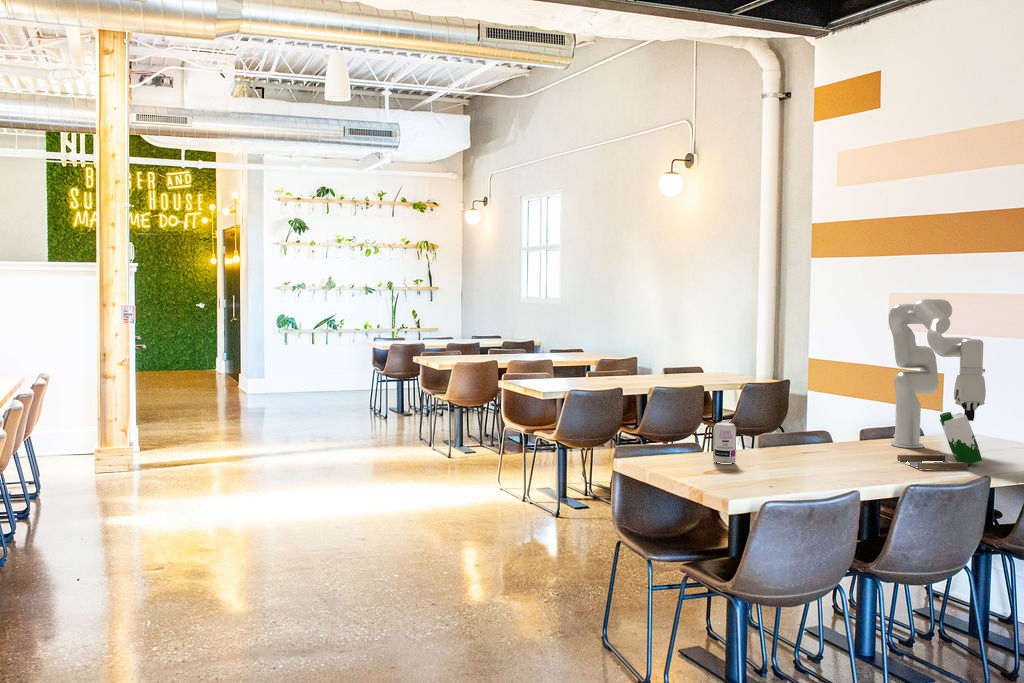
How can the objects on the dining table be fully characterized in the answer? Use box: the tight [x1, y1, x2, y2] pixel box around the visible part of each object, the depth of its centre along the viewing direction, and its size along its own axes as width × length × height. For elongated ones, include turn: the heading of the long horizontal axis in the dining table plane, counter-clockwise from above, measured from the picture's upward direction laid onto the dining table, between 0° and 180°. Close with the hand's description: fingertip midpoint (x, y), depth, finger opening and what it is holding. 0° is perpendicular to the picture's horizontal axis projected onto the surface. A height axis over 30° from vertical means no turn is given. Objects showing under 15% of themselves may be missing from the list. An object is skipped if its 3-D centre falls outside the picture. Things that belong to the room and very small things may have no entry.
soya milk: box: [939, 411, 983, 466], centre depth 322 cm, size 9×9×20 cm
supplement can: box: [712, 422, 737, 463], centre depth 325 cm, size 8×8×15 cm
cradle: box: [896, 453, 969, 471], centre depth 321 cm, size 17×18×2 cm
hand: (969, 420), depth 321 cm, fingers closed
